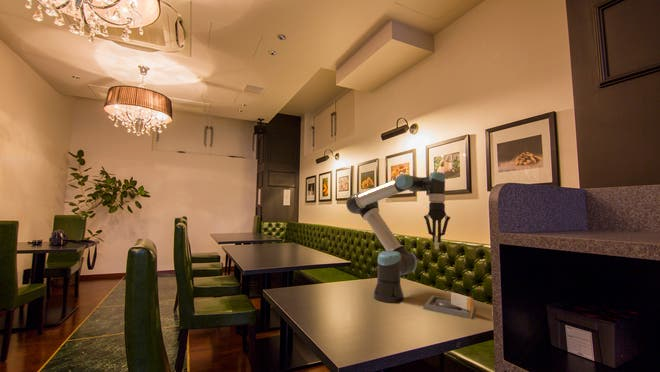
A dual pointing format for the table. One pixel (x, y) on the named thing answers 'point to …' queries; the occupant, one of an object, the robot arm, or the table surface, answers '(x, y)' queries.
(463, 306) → the grey dome with handle
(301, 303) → the table surface
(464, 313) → the grey rectangular tray
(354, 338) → the table surface
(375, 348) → the table surface
